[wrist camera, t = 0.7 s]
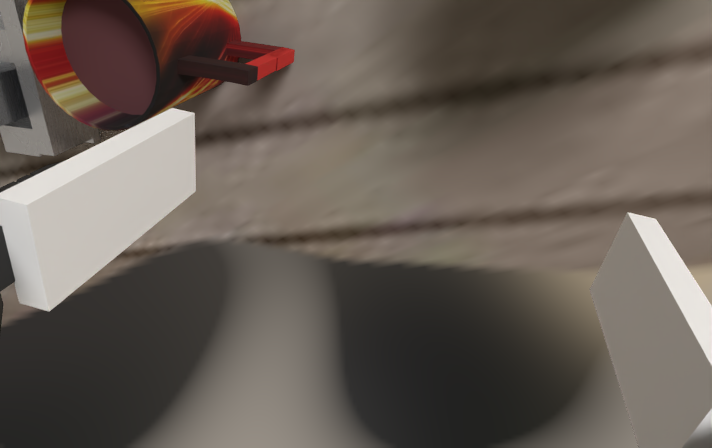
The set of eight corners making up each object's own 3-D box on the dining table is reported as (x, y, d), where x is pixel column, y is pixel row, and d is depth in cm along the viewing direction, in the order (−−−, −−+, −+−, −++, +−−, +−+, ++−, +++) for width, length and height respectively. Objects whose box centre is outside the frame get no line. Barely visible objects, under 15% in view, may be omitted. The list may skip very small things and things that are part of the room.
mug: (303, 57, 41) (241, 91, 30) (168, 103, 45) (76, 146, 35) (256, -72, 37) (168, -84, 27) (115, -8, 42) (-6, 4, 31)
